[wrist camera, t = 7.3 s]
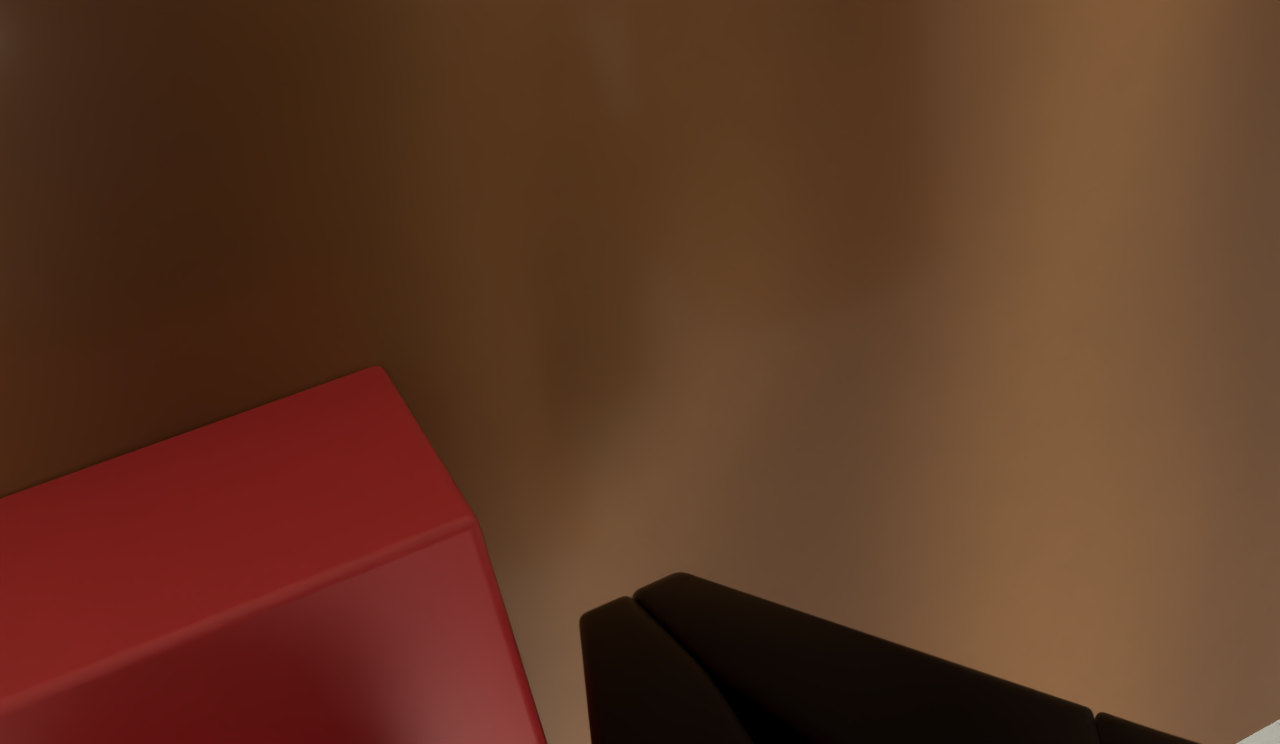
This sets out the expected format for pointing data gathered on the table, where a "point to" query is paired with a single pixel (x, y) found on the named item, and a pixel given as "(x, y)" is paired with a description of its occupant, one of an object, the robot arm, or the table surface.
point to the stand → (707, 300)
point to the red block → (260, 590)
